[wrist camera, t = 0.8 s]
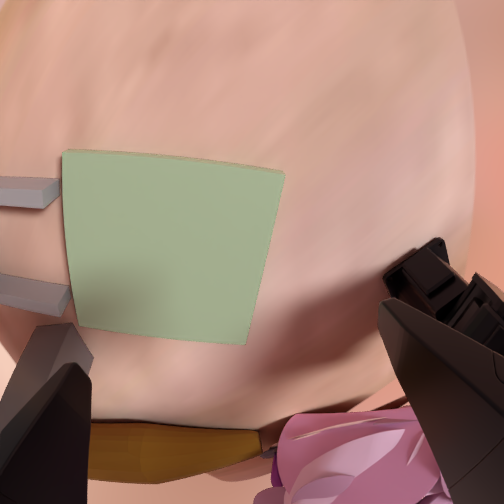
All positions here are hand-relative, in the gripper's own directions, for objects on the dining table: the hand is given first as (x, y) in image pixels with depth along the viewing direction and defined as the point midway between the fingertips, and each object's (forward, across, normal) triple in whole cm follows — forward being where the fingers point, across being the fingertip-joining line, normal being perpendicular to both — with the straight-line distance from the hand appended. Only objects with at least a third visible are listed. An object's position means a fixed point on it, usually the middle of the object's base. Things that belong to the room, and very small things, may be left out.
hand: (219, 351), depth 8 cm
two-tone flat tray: (+13, +9, +1) cm, 16 cm away
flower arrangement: (+14, -11, +37) cm, 41 cm away
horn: (+14, +16, +26) cm, 33 cm away
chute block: (+13, +18, +10) cm, 24 cm away
